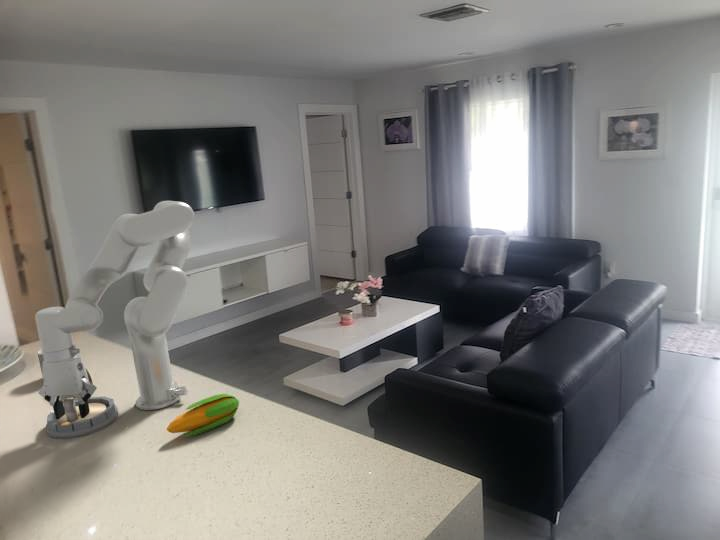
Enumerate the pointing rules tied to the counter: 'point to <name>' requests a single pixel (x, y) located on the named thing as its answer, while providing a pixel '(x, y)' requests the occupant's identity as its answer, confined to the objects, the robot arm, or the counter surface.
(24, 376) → the counter surface
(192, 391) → the counter surface
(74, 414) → the dial
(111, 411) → the dial housing
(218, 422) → the corn
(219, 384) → the counter surface
